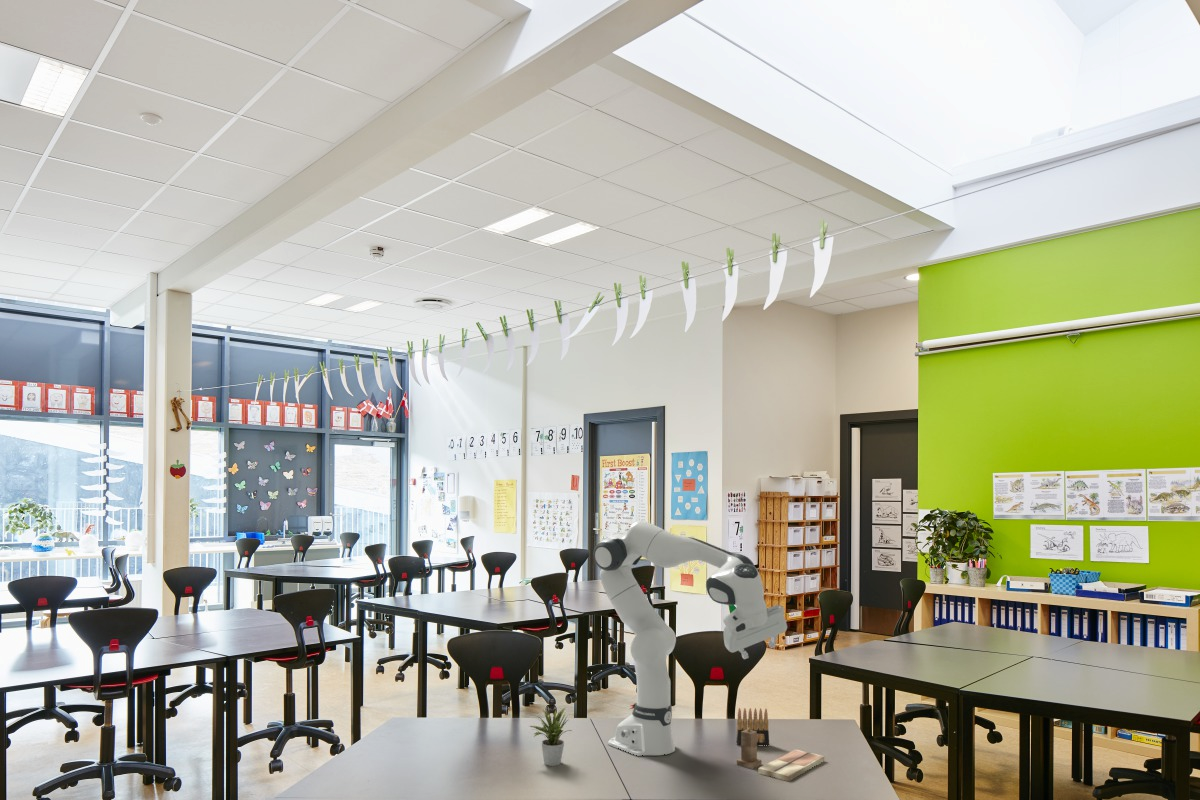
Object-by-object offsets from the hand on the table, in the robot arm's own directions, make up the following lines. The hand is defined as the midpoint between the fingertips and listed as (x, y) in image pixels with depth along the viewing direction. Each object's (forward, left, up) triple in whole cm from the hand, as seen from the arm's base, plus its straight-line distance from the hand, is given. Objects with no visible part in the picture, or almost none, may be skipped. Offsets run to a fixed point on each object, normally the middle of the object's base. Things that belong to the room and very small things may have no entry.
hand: (758, 652), depth 260 cm
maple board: (+6, +9, -35) cm, 37 cm away
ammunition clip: (-14, +20, -35) cm, 43 cm away
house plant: (-52, -37, -35) cm, 73 cm away
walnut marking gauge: (-5, +2, -35) cm, 35 cm away
